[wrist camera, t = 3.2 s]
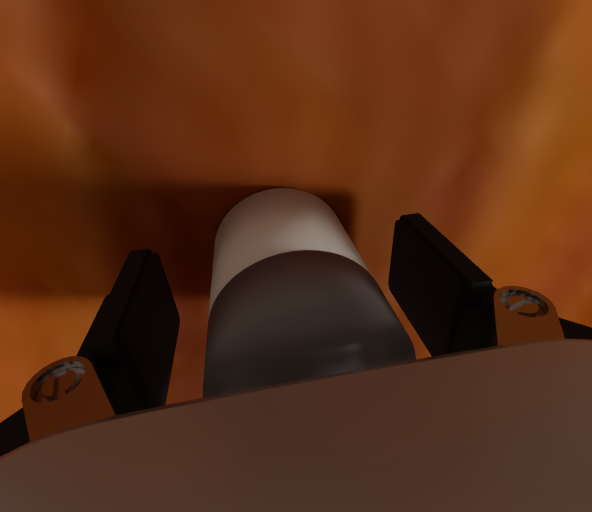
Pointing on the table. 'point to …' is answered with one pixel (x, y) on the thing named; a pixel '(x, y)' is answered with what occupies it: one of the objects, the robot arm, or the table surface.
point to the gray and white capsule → (292, 298)
